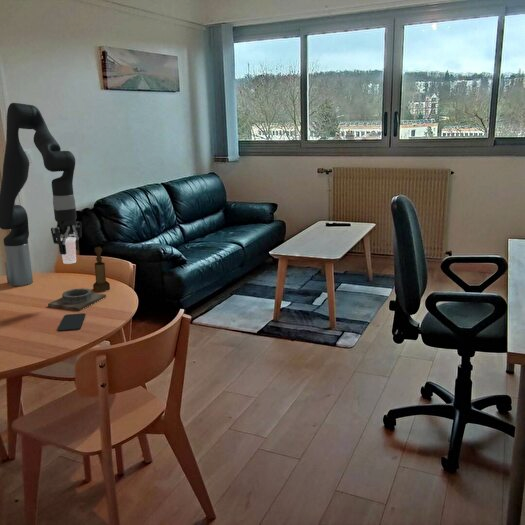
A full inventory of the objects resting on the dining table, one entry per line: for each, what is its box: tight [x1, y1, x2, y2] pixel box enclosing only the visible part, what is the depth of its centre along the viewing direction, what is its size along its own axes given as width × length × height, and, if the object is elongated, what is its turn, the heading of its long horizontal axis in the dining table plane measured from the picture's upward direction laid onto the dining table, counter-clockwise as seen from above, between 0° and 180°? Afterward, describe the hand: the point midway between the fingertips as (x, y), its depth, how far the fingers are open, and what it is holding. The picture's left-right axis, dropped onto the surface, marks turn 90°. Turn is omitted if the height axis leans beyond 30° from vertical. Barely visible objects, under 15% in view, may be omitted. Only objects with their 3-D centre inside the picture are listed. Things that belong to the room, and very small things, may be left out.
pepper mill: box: [92, 246, 111, 293], centre depth 212 cm, size 7×6×18 cm
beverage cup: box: [61, 236, 77, 265], centre depth 193 cm, size 6×6×14 cm
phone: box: [57, 313, 86, 332], centre depth 180 cm, size 7×1×15 cm
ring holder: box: [47, 288, 107, 312], centre depth 199 cm, size 14×16×4 cm
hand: (69, 252), depth 194 cm, fingers closed on beverage cup, 6 cm apart
